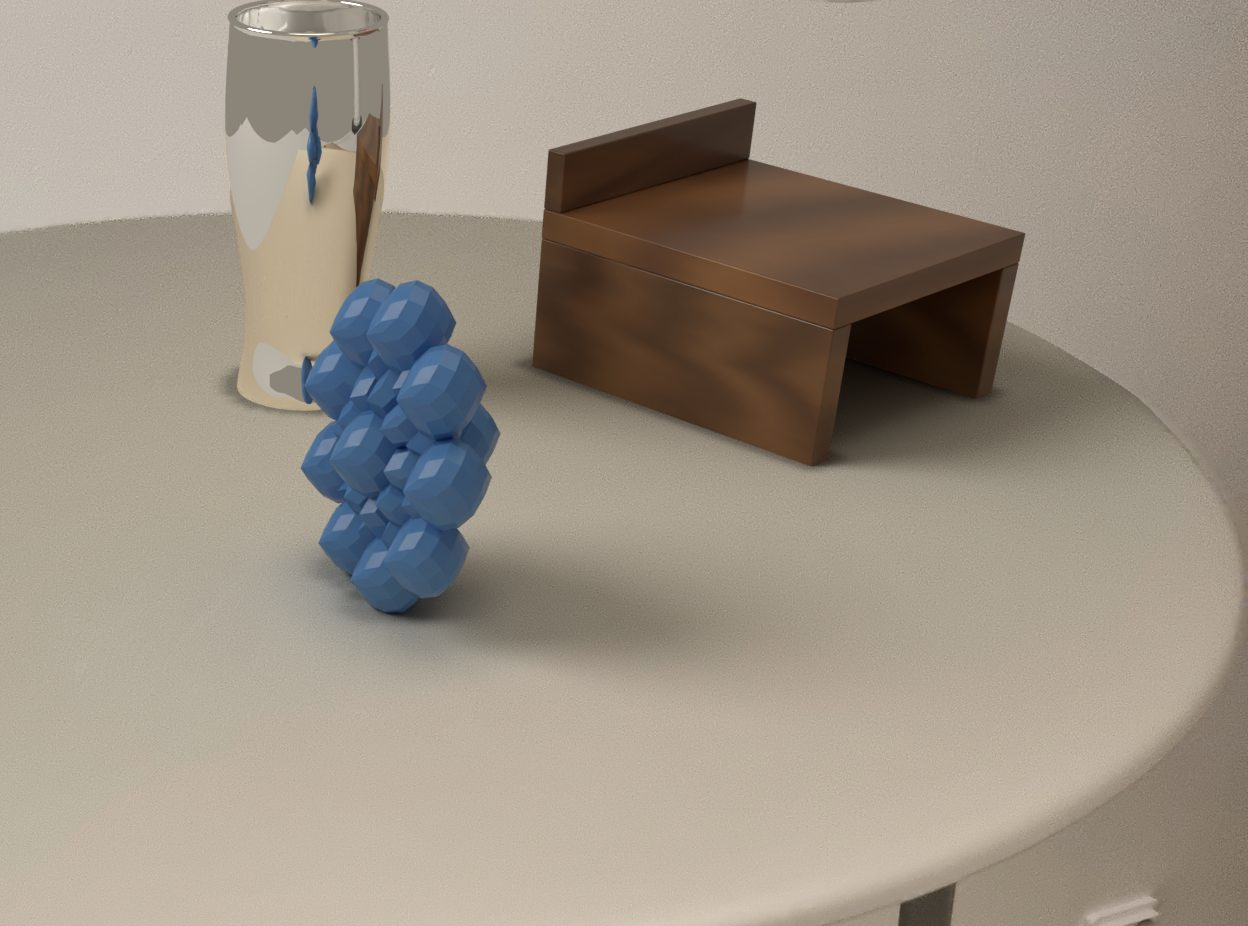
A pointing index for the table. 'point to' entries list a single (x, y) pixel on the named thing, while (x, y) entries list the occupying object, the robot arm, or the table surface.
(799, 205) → the shelf
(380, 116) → the beer glass
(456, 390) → the grapes
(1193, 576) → the table surface
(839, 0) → the beverage cup
